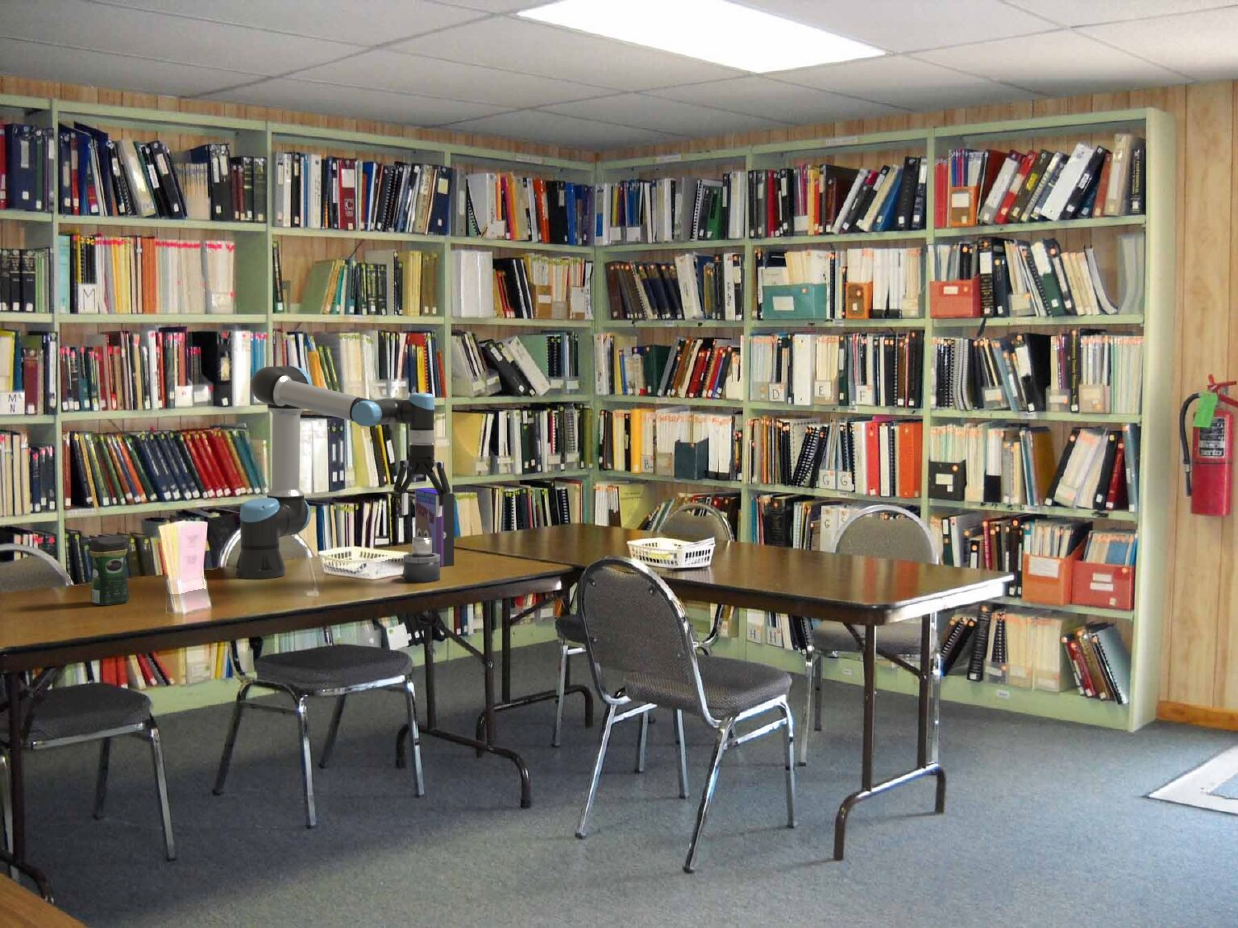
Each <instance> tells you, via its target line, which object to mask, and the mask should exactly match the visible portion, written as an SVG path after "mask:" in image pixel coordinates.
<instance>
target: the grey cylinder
mask: <svg viewBox="0 0 1238 928" xmlns="http://www.w3.org/2000/svg"><path fill="white" fill-rule="evenodd" d="M411 547H412V548H411V549H412V550H411V551H412V552H411V553H412V557H417V558H427V557H432V537H426V536H420V537H415V536H413V537H412V546H411Z"/></svg>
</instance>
